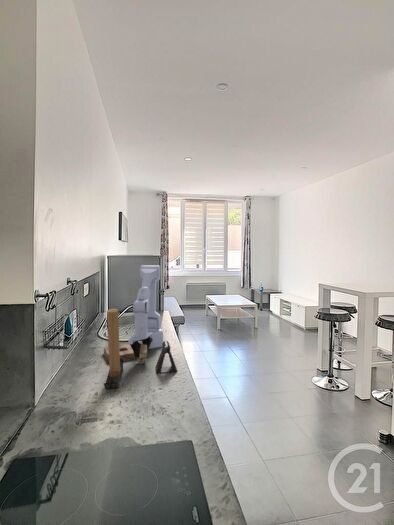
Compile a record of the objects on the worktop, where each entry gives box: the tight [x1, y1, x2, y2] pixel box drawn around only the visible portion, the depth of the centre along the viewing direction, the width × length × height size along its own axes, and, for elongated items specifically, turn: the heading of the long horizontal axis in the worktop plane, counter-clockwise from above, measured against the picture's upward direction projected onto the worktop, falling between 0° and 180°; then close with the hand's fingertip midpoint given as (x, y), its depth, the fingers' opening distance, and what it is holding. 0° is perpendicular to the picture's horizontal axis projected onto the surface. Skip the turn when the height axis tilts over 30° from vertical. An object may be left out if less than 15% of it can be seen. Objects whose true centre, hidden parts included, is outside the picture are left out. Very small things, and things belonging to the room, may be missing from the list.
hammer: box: [103, 308, 125, 389], centre depth 117 cm, size 20×5×30 cm, turn 7°
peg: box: [135, 343, 148, 365], centre depth 139 cm, size 5×5×8 cm
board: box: [103, 343, 137, 362], centre depth 148 cm, size 16×14×3 cm
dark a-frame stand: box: [155, 340, 178, 375], centre depth 130 cm, size 9×6×12 cm, turn 100°
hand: (141, 355), depth 139 cm, fingers closed on peg, 5 cm apart
